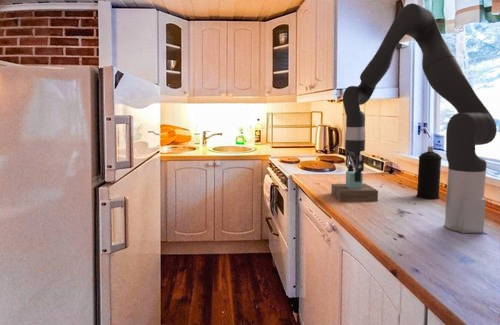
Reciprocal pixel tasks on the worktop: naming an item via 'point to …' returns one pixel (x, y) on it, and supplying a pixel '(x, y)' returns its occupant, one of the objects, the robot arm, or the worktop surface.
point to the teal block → (350, 180)
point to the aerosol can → (429, 175)
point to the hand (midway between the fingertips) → (353, 179)
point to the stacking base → (354, 193)
